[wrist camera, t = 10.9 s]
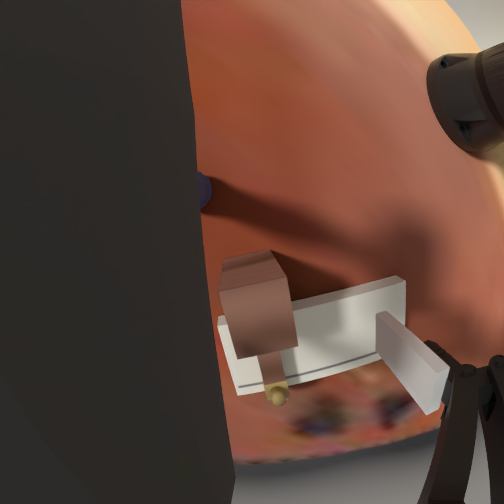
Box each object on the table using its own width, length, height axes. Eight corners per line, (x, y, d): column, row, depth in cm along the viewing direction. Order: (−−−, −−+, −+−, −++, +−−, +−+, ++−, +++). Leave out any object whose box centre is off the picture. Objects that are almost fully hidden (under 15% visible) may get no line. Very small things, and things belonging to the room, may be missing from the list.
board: (218, 316, 31) (217, 326, 28) (395, 275, 31) (406, 281, 29) (237, 383, 33) (237, 396, 31) (394, 342, 34) (403, 350, 31)
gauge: (223, 259, 30) (218, 291, 20) (269, 249, 30) (286, 276, 20) (255, 383, 33) (262, 440, 24) (293, 375, 34) (310, 429, 24)
